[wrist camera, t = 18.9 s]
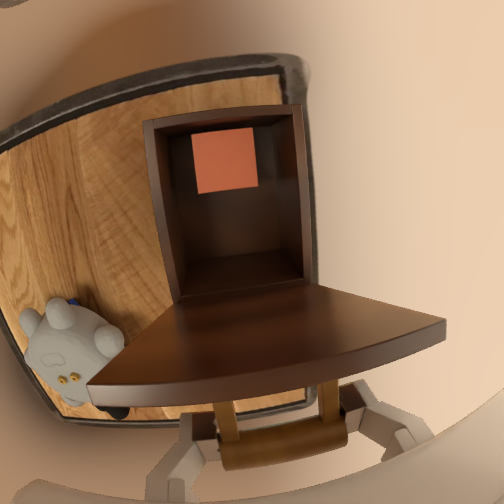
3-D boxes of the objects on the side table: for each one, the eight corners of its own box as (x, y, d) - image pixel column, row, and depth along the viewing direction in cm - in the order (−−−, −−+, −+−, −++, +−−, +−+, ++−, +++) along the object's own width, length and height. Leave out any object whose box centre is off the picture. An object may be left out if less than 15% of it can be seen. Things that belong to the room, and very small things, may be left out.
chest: (162, 132, 26) (142, 121, 17) (275, 119, 27) (301, 104, 18) (183, 266, 30) (173, 306, 22) (286, 252, 32) (312, 285, 23)
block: (194, 138, 26) (191, 134, 21) (245, 132, 26) (252, 127, 21) (200, 188, 27) (198, 194, 23) (250, 181, 28) (258, 186, 23)
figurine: (13, 302, 28) (86, 394, 37) (-14, 339, 20) (76, 434, 29) (101, 266, 29) (173, 379, 37) (76, 309, 21) (171, 426, 30)
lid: (84, 383, 6) (141, 505, 6) (447, 318, 8) (432, 442, 7) (172, 304, 22) (185, 368, 22) (313, 283, 23) (320, 346, 23)
